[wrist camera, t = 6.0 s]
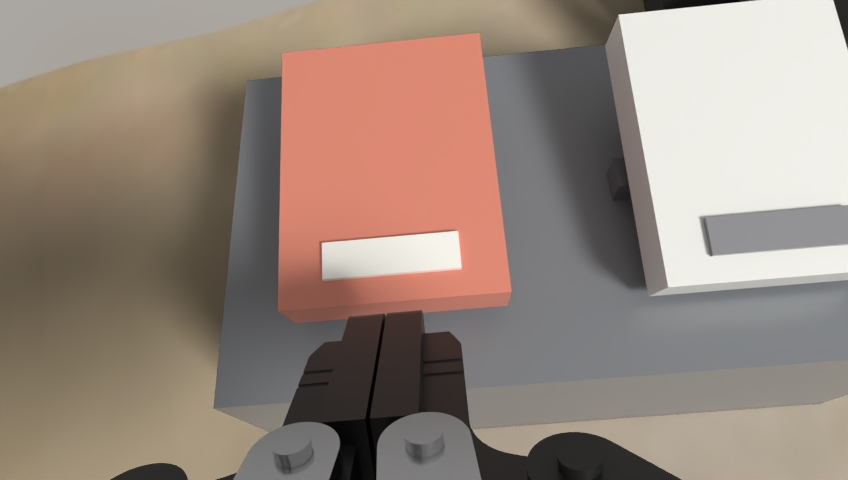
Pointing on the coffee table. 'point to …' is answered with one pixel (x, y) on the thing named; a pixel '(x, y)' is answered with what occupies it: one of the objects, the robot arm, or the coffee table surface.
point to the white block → (735, 142)
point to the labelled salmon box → (388, 182)
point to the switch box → (543, 281)
